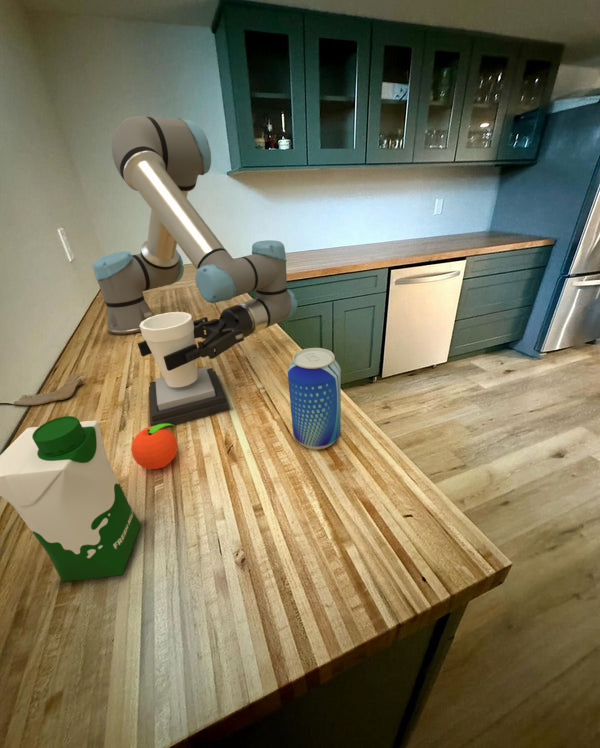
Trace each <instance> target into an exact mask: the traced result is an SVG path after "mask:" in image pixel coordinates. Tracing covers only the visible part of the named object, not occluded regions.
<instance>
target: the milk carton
mask: <svg viewBox="0 0 600 748" xmlns="http://www.w3.org/2000/svg"><path fill="white" fill-rule="evenodd" d="M0 497H1V498H2V499H3V500H5V501H6V502H7V503H9V504H10V505H11V506H12V507H13V508H14V509H15V511H16V512H17V514H18V515H19V516H20V517H21V519H22V520H23V521H24V523H25V524H26V526H27V527H28V529H29V530H30V531H31V533H32V534H33V535H34V537H35V538H36V539H37V541H38V542H39V543H40V545H41V546H42V548H43V549H44V550H45V552H46V553H47V555H48V556H49V558H50V561H51V563H52V565H53V567H54V569H55V570H56V573H57V574H58V576H59V578H60V580H61V582H62V583H67V582H74V581H75V582H76V581H83V580H93V579H100V578H107V577H108V578H109V577H110V578H111V577H117V576H123V575H124V572H125V570H126V567H127V564H128V561H129V558H130V557H131V556H130V555H131V553H132V550H133V547H134V545H135V542H136V539H137V537H138V535H139V534H138V533H139V531H140V529H141V526H142V524H141V521H140V520H139V518H138V517H137V514H136V513H135V512H134V510H133V508H132V507H131V505H130V503H129V501H128V499H127V497H126V494H125V493H124V490H123V488H122V486H121V484H120V481H119V480H118V478H117V475H116V474H115V471H114V469H113V467H112V465H111V462H110V460H109V458H108V455H107V451H106V447H105V444H104V439H103V435H102V430H101V425H100V421H99V420H87V421H86V420H85V421H80V420H79V418H77V417H76V416H72V415H65V416H60V417H56V418H53V419H51V420H48V421H46V422H44V423H42V424H41V425H39V426H30V427H27V428H25V429H24V430H23V431H22V433H20V434H19V436H17V438H15V440H14V441H13V442H12V443H11V444H10V445H9V446H8V447H7V448H6V449H5V450H4V451H3V452H2V453H1V454H0Z"/></svg>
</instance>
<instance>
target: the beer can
mask: <svg viewBox="0 0 600 748" xmlns="http://www.w3.org/2000/svg"><path fill="white" fill-rule="evenodd" d="M335 357H336V356H335V354H334V353H333V351H331V350H329V349H326V348H322V347H309V348H304V349H303V348H302V349H300V350H299V351H297V352H295V353H294V354H293V355H292V359H291V363H290V364H289V366H288V368H287V381H288V393H289V402H290V414H291V415H290V416H291V423H292V424H291V425H292V434H293V437H294V439H295V440H296V442H299V444H300V445H301V446H303V447H304V448H307V449H309V450H316V451H317V450H324V449H327V448H329V447H331V446H333V444H335V442H337V440H338V439H339V437H340V436H341V432H342V431H341V428H342V425H341V424H342V422H341V421H342V420H341V419H342V418H341V417H342V414H341V413H342V412H341V411H342V410H341V409H342V407H341V406H342V405H341V403H342V402H341V401H342V395H341V394H342V393H341V392H342V391H341V390H342V389H341V388H342V386H341V385H342V381H341V379H342V375H341V371H342V370H341V365H340V364H339V363H338V362H337V360H336V358H335Z"/></svg>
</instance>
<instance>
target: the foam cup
mask: <svg viewBox="0 0 600 748" xmlns="http://www.w3.org/2000/svg"><path fill="white" fill-rule="evenodd" d="M154 315H155V314H154ZM193 321H194V319H193V316H192V314H190V313H189V312H184V311H172V312H171V311H169V312H164V313H159V314H156V315H155V316H152V317H149V318H147V319H145V320H144V321H142V322H141V324H140V329H141V335H142V338H143V339H144V341H146V342H147V344H148V346H149V348H150V350H151V352H152V353H151V355H152V356H153V359H154V360H155V361H154V362H155V363H156V365H157V367H158V369H159V371H160V373H161V375H162V377H164V380H165V381H166V383H167V385H168V386H170V387H183V386H187V385H190V384H191V383H193V382H195V381H196V379H197V377H198V375H197V369H198V365H197V364H198V363H197V359H195V360H193V361H191V362H188V363H186V364H184V365H182V366H179V367H177V368H175V369H173V370H170V371H168V370H167V368H166V364H165V361H164V356H166V355H169V354H171V353H174V352H176V351H178V350H181V349H183V348H186V347H188V346H191V345H193V344H196V343H195V339H194V324H193Z"/></svg>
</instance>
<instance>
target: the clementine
mask: <svg viewBox="0 0 600 748" xmlns="http://www.w3.org/2000/svg"><path fill="white" fill-rule="evenodd" d="M168 425H172V424H167V423H165V424H158V425H155V426H151V425H150V426H147V427H145V428H143V429H142V430H140V431H139V432H138V433H137V434H136V435H135V437H134V438H133V440H132V443H131V449H130V450H131V455H132V458H133V460H134V461H135V462H136V464H137V465H139V466H140V467H142V468H144V469H147V470H157V469H161V468H164V467H165V466H167V465H168V464H170V463H171V462H172V461H173V459H174V458H175V456H176V454H177V453H178V441H177V437H176V436H175V434H174V432H172V431H171V430H170V429H169V428H168V427H165V426H168ZM164 427H165V428H164ZM172 427H175V428H176V429H178V427H177V426H176V425H173V426H172Z"/></svg>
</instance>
